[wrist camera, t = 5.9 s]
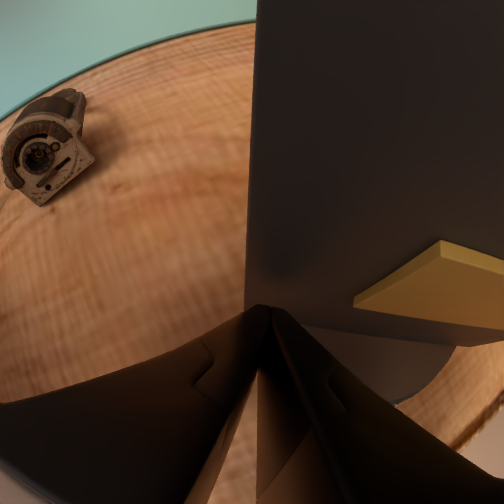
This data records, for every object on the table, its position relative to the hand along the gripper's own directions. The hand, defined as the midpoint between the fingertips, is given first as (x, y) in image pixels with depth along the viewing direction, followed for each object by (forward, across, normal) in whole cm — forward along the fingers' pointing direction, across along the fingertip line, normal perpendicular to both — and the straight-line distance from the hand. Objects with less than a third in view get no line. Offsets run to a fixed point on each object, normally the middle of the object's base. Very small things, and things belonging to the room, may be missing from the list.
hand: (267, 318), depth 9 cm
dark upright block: (+7, +6, -2) cm, 9 cm away
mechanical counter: (+14, -19, +2) cm, 24 cm away
